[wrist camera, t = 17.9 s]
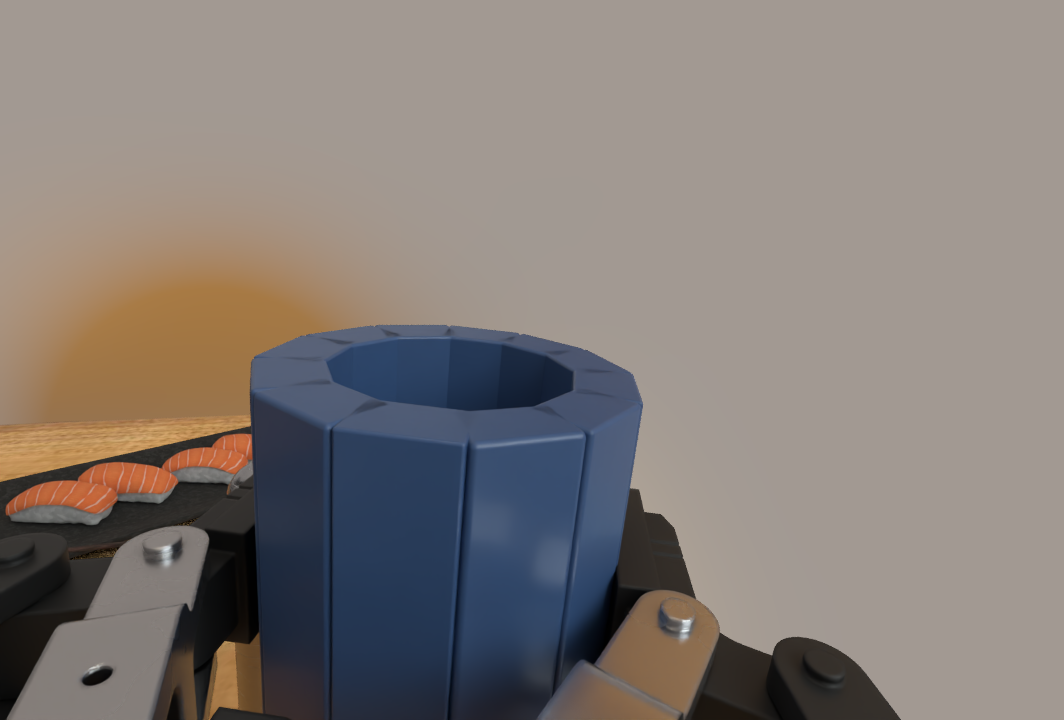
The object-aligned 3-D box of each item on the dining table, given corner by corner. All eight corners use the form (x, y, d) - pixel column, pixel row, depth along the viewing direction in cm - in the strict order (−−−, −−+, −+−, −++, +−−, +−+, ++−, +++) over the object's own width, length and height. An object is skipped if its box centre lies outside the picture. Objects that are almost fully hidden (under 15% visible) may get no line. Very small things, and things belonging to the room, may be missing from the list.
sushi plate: (289, 432, 65) (289, 401, 64) (462, 549, 46) (465, 508, 45) (-76, 521, 43) (-86, 476, 42) (-24, 806, 25) (-39, 740, 24)
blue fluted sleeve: (194, 970, 9) (141, 403, 7) (346, 671, 15) (349, 313, 12) (567, 1037, 9) (667, 469, 6) (571, 704, 15) (623, 344, 12)
